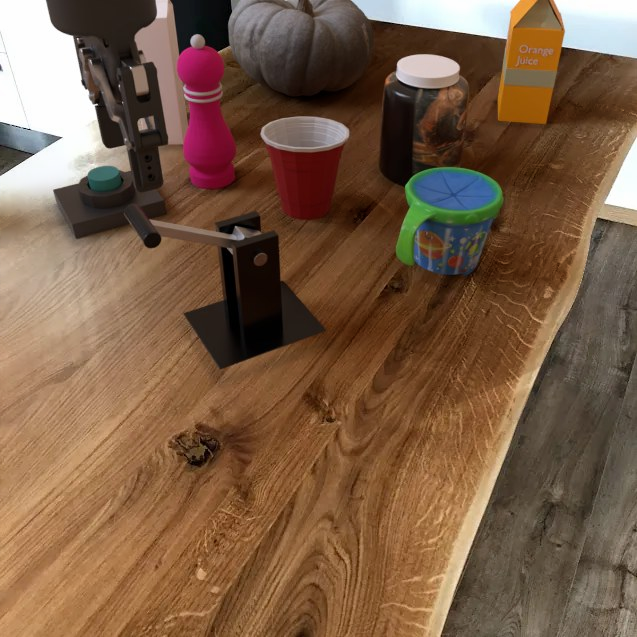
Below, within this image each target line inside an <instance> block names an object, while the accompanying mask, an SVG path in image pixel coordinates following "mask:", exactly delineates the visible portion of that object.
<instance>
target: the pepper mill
mask: <svg viewBox="0 0 637 637" xmlns="http://www.w3.org/2000/svg"><path fill="white" fill-rule="evenodd" d="M177 73H178V76H179V78H180V79H181V81H182V82H183V90H184V98H185V100H187V102H188V106H189V121H188V129H187V132H186V135H185V138H184V144H183V145H182V150H183V151H182V152H183V154H182V155H183V158H184V159H185V161H186V162H187V164H189V168H188V170H189V178H190V182H191V183H192V184H193V186H195V187H197V188H200V189H204V190H217V189H221V188H225V187H227V186H229V185H231V184H232V183H233V182H234V181H235V179H236V174H235V165H234V163H233V160H234V159H235V157H236V155H237V146H236V142H235V138H234V136H233V134H232V132H231V130H230V128H229V126H228V125H227V122H226V120H225V119H224V116H223V113H222V107H221V98H223V94H224V92H223V90H222V89H223V84H222V83H221V81H222V79H223V78H224V75H225V63H224V59H223V58H222V56H221V54H220V53H219V52H218V51H217V50H216V49H214V48H213V47H210V46H208V45H206V40H205V38H204V37H203V35H201V34H198V33H197V34H193V36H191V38H190V47H187V48H186V49H184V50H183V51H181V53H179V58H178V61H177Z"/></svg>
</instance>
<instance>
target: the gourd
mask: <svg viewBox="0 0 637 637" xmlns="http://www.w3.org/2000/svg"><path fill="white" fill-rule="evenodd" d="M227 29H228V42H229V46H230V50H231V53H232V56H233V58H234V60H235V61H236V62H237V64H238V65H239V66H240V67H241V68H242V70H243V71H244V72H245V73H246V74H247V75H248V77H250V78H252V80H254V81H256V83H257V84H260V85H261V86H263V87H265V88H268V89H272V90H274V91H275V92H277V93H281V94H284V95H286V96H288V97H300V96H305V97H312V96H314V95H317V94H318V93H320V92H321V91H324V92H338V91H341V90H343V89H346V88H348V87H350V86H351V85H353V84H354V83H355V82H357V80H359V79H360V78H361V77H362V75H363V74H365V72H366V70H367V69H368V67H369V64H370V61H371V58H372V57H371V56H372V51H373V45H374V36H375V35H374V30H373V27H372V23H371V21H370V19H369V17H367V15H366V14H365V13H364V11H363V10H362V9H361V8H359V6H358V5H357V4H356V3H355V2H354V1H353V0H239V1H238V3H237V4H236V6H235V8H234V9H233V11H232V12H231V14H230V16H229V20H228V24H227Z"/></svg>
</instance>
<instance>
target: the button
mask: <svg viewBox="0 0 637 637" xmlns="http://www.w3.org/2000/svg"><path fill="white" fill-rule="evenodd" d="M119 170H120V169H119V168H117V167H115V166H112V165H101V166H96V167H94V168H92V169H91V170H89V171H88V172H87V175H86V176H88V180H89V185H90V188H91V190H94V191H110V190H114V189H116V188H118V187H119V186H121V184H122V182H121V177H120V172H119Z"/></svg>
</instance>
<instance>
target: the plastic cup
mask: <svg viewBox="0 0 637 637" xmlns="http://www.w3.org/2000/svg"><path fill="white" fill-rule="evenodd" d="M260 137H261V139H262V140H263V141H264V144H265V145H266V150H267V152H268V157H269V159H270V164H271V168H272V172H273V176H274V182H275V185H276V190H277V195H278V197H279V201H280V204H281V209H282V211H283V212H284V214H285V215H286V216H288V217H291V218H292V219H297V220H306V221H311V220H315V219H320V218H322V217H324V216H325V215H327V213H328V212H330V210H331V205H332V204H331V203H332V198H333V197H334V191H335V186H336V182H337V176H338V170H339V166H340V160H341V159H342V154H343V151H344V149H345V148H344V147H345V145H346V142H347V141H348V140H349V138H350V129H349V128H348V127H347V126H346V125H344V124H343V123H341V122H339V121H336V120H333V119H330V118H324V117H320V116H301V115H300V116H292V117H291V116H290V117H283V118H279V119H275V120H273V121H270V122H268V123H267V124H265V125H264V126H262V128H261V131H260Z"/></svg>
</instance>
